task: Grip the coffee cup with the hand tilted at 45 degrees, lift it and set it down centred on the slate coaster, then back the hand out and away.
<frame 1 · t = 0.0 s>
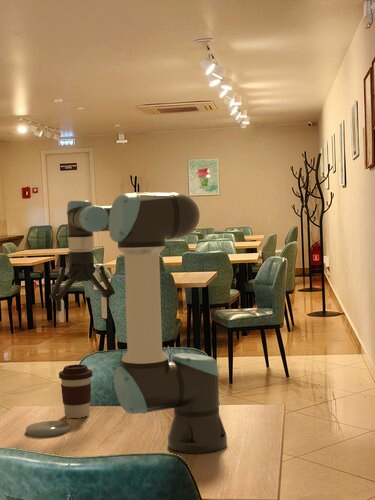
hand: (83, 320, 225), 28 cm above the table, tool pointing down, fingers open, 13 cm apart
slate coaster: (48, 431, 204), on the table
coffee cup: (77, 416, 219), on the table
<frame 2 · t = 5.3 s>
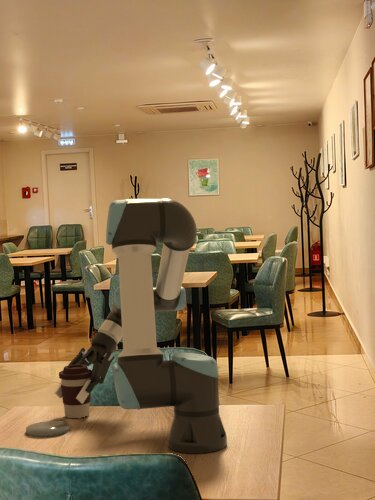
hand: (68, 398, 217), 6 cm above the table, tool tilted 45°, fingers closed on coffee cup, 10 cm apart
coffee cup: (77, 416, 219), on the table, touching gripper
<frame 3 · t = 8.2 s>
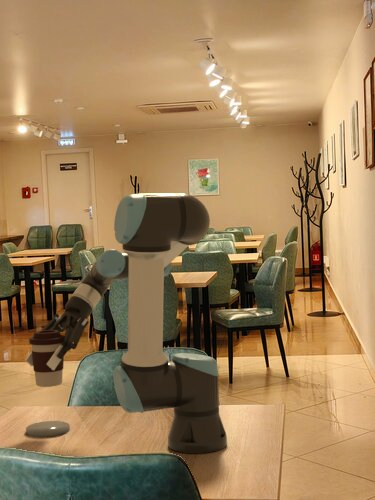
hand: (39, 365, 203), 19 cm above the table, tool tilted 45°, fingers closed on coffee cup, 10 cm apart
coffee cup: (49, 385, 206), point 13 cm above the table, touching gripper
when the fingers open (9 cm above the table, at t = 11.4 s): coffee cup drops 1 cm, resting on slate coaster.
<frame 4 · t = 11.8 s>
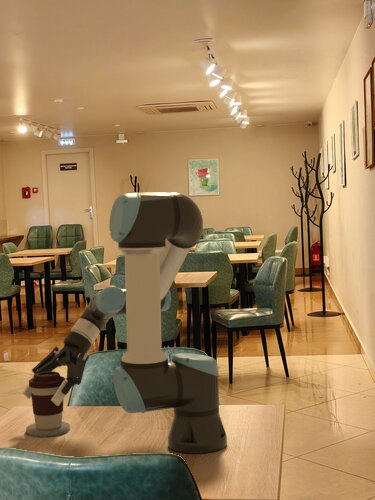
hand: (39, 399, 202), 9 cm above the table, tool tilted 45°, fingers open, 13 cm apart
coffee cup: (48, 427, 204), point 1 cm above the table, touching slate coaster
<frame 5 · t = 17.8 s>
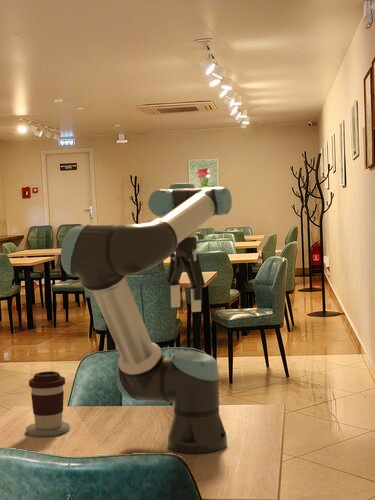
hand: (185, 309, 213), 32 cm above the table, tool pointing down, fingers open, 13 cm apart
nothing on the table moved.
at the end: coffee cup 0.3 cm from the slate coaster (horizontally); coffee cup tilted 0°; the gripper is holding nothing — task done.
